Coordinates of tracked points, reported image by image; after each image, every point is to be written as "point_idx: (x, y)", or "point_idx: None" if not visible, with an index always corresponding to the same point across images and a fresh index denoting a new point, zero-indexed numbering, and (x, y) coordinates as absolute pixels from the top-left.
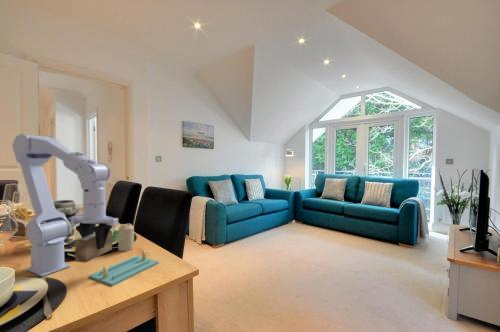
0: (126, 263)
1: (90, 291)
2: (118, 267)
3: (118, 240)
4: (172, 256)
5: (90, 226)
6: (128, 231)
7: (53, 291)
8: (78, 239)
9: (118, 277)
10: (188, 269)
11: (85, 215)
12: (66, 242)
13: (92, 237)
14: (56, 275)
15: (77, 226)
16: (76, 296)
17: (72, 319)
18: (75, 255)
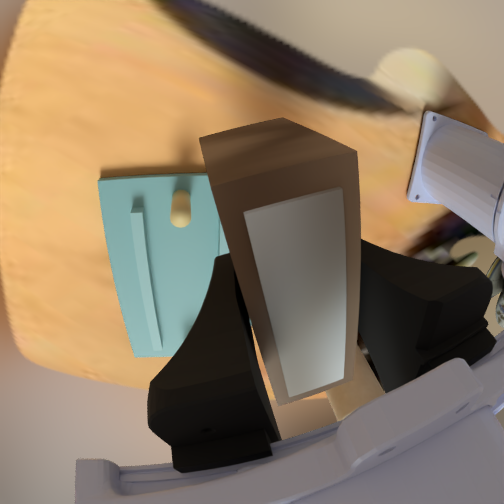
0: None
1: (138, 107)
2: None
3: (365, 364)
4: (146, 388)
5: (398, 368)
6: (341, 409)
7: (284, 41)
8: (357, 192)
9: (130, 224)
10: (34, 356)
11: (472, 494)
12: (495, 278)
13: (263, 287)
14: (394, 133)
15: (484, 294)
16: (152, 58)
17: (32, 5)
18: (294, 124)
